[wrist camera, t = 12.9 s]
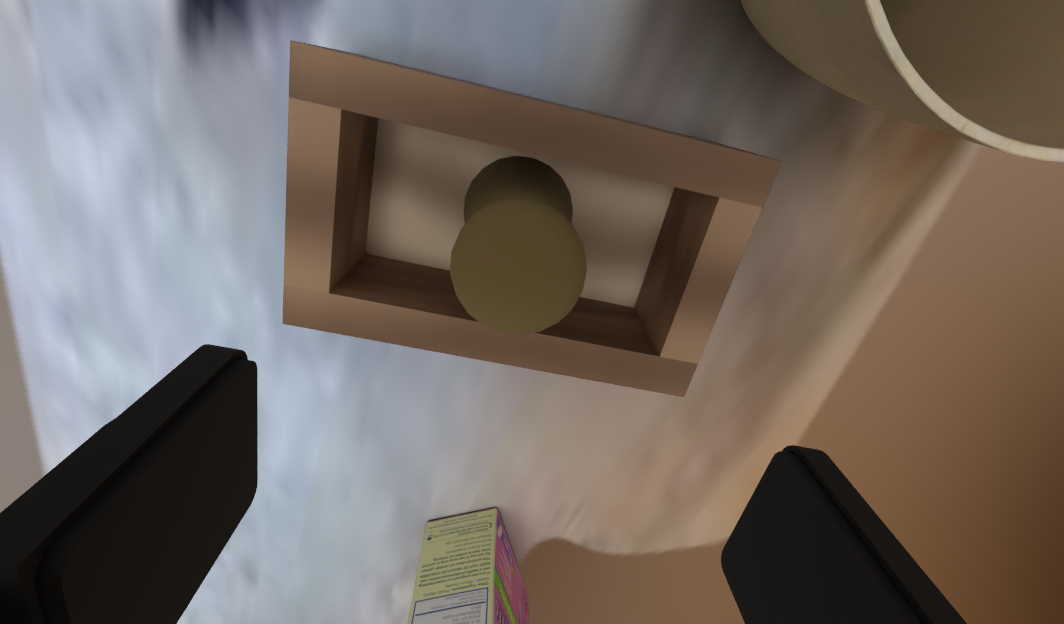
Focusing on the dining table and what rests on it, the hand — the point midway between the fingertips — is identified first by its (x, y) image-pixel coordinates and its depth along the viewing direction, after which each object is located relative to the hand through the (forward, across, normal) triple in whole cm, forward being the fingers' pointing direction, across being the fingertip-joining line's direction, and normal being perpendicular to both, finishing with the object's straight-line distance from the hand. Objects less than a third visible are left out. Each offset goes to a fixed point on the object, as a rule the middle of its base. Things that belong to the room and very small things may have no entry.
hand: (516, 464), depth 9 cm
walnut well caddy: (+21, 0, 0) cm, 21 cm away
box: (+21, -3, +28) cm, 36 cm away
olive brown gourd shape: (+20, 0, 0) cm, 21 cm away
